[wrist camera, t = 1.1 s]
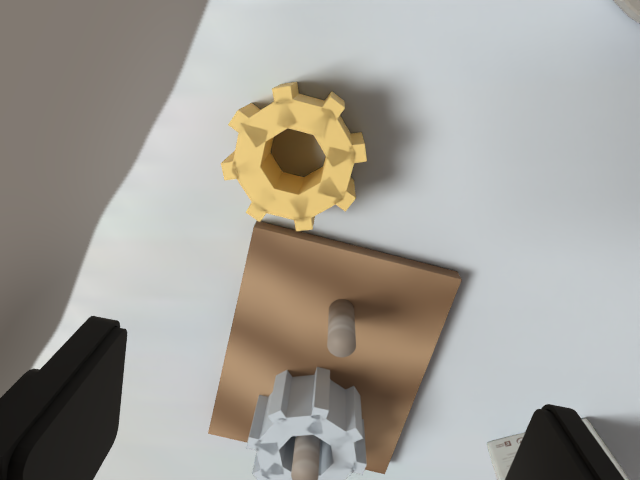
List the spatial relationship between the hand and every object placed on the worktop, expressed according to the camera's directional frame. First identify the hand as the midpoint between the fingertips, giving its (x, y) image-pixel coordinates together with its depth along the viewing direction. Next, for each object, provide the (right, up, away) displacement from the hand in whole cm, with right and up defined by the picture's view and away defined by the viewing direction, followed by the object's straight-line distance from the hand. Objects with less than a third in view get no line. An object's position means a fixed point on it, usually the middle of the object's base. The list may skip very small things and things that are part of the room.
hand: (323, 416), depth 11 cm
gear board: (0, -4, +23) cm, 23 cm away
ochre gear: (-1, +9, +18) cm, 20 cm away
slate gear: (-1, -8, +23) cm, 24 cm away
